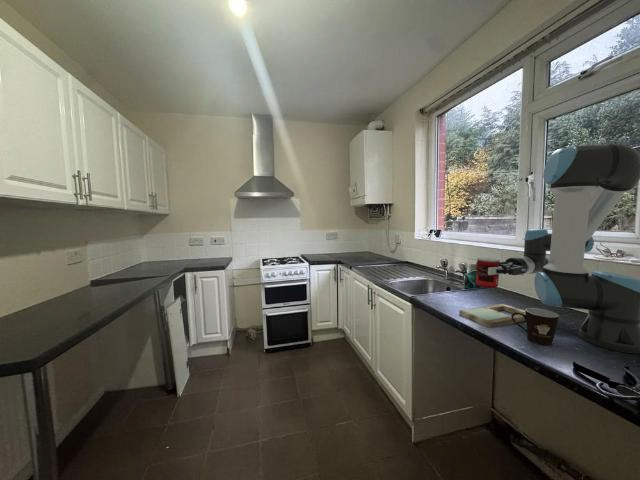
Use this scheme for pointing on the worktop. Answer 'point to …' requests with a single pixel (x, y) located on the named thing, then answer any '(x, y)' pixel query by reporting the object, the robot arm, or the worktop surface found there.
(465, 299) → the worktop surface
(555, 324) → the coffee mug
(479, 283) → the canned food
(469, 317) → the board
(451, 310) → the worktop surface
